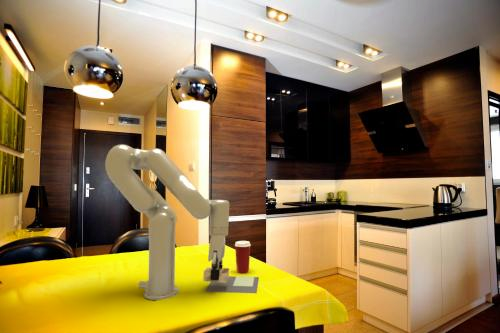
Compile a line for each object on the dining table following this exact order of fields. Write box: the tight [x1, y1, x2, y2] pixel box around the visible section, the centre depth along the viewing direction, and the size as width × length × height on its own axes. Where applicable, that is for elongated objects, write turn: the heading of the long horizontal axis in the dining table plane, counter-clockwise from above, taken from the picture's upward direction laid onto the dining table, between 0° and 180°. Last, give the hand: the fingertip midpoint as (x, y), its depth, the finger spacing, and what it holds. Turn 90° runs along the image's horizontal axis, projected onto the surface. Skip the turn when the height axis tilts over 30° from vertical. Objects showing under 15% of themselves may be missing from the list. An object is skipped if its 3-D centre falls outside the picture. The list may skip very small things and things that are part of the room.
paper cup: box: [234, 240, 252, 275], centre depth 128 cm, size 8×8×14 cm
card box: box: [202, 266, 230, 283], centre depth 108 cm, size 9×6×4 cm, turn 85°
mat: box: [204, 275, 260, 294], centre depth 112 cm, size 20×18×1 cm
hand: (216, 276), depth 108 cm, fingers closed on card box, 6 cm apart
